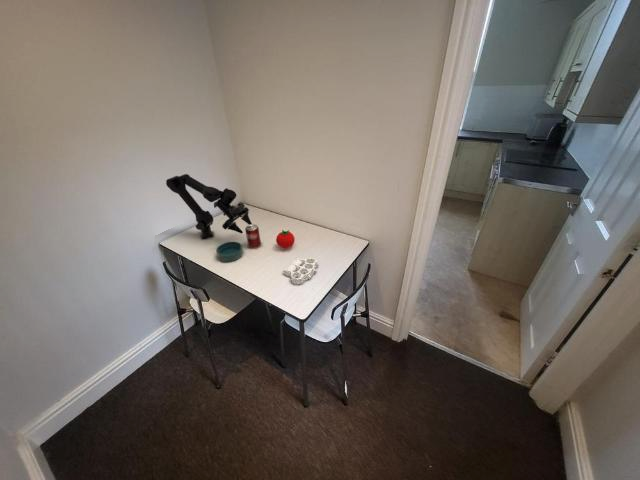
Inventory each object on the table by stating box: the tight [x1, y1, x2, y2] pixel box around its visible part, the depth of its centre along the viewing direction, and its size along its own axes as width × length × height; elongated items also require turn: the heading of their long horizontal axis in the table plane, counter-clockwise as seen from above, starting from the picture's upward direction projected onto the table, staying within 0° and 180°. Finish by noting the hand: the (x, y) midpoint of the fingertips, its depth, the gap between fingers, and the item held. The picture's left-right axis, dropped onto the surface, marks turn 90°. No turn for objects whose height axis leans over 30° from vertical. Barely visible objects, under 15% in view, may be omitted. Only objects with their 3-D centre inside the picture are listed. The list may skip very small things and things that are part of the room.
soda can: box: [244, 223, 262, 249], centre depth 144 cm, size 7×7×12 cm
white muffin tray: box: [282, 257, 318, 285], centre depth 126 cm, size 3×18×15 cm
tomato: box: [275, 229, 296, 249], centre depth 143 cm, size 10×10×10 cm
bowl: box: [215, 241, 244, 263], centre depth 138 cm, size 13×13×4 cm
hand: (247, 229), depth 143 cm, fingers open, 9 cm apart
